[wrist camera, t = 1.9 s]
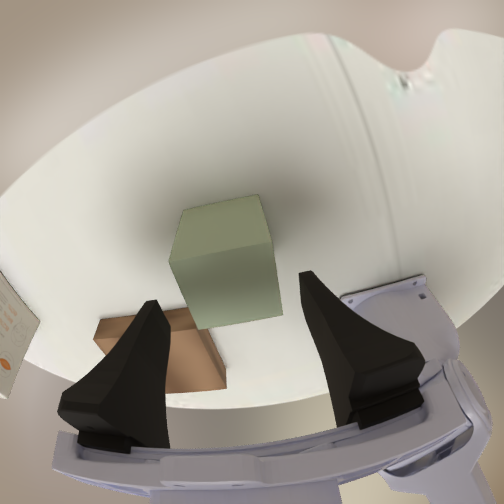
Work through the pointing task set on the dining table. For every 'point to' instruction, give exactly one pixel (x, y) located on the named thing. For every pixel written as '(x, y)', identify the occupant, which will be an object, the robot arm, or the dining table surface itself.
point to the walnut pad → (176, 352)
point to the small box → (13, 335)
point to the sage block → (226, 263)
